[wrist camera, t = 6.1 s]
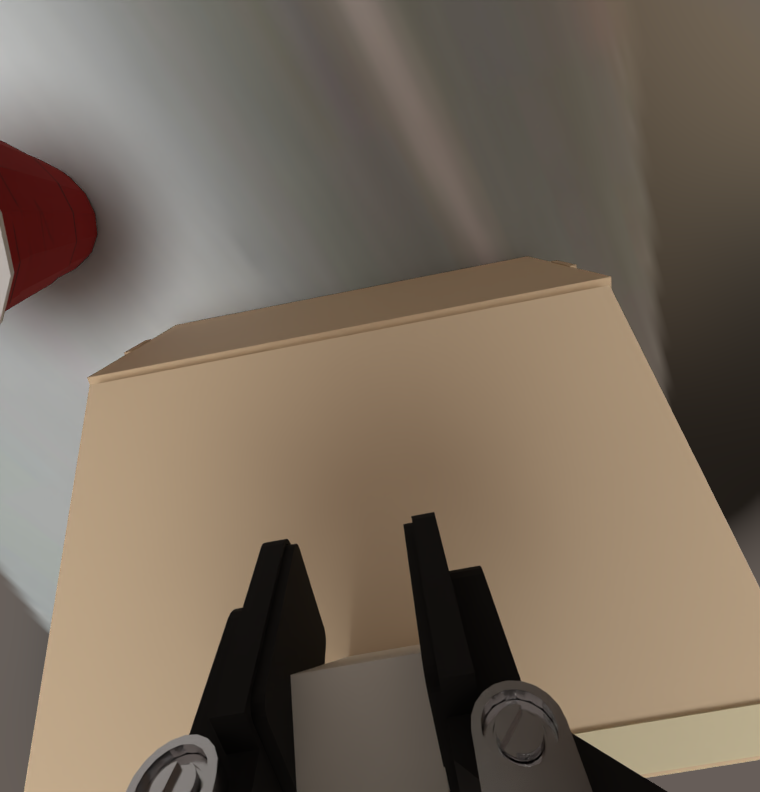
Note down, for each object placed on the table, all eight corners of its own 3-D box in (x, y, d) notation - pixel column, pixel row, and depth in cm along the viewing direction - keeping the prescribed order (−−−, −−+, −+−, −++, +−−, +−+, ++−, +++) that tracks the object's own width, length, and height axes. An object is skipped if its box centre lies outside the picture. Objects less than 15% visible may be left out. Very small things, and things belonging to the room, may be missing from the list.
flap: (99, 391, 19) (-49, 288, 13) (604, 294, 19) (681, 142, 13) (28, 868, 12) (-337, 1082, 7) (820, 741, 12) (1197, 854, 6)
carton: (171, 324, 29) (80, 377, 19) (531, 254, 28) (617, 274, 19) (246, 533, 34) (204, 650, 25) (545, 479, 34) (615, 579, 24)
